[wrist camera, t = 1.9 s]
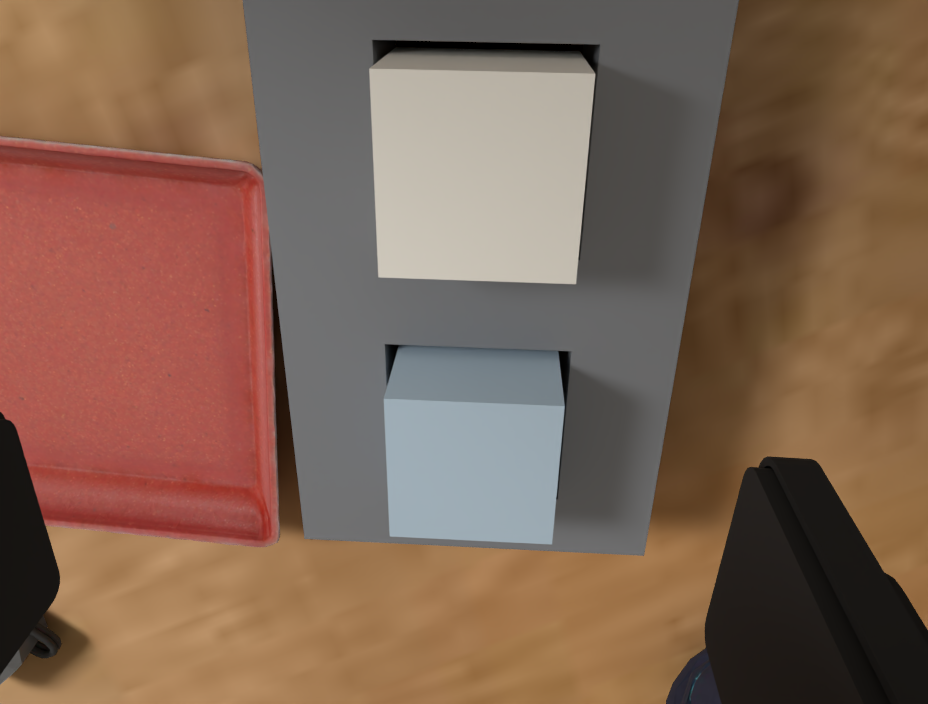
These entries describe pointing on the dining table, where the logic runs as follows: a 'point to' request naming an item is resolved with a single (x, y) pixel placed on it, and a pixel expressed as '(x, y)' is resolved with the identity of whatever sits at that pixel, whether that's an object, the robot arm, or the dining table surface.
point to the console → (487, 302)
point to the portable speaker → (695, 683)
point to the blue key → (473, 443)
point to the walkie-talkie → (34, 648)
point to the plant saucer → (140, 340)
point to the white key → (480, 163)
